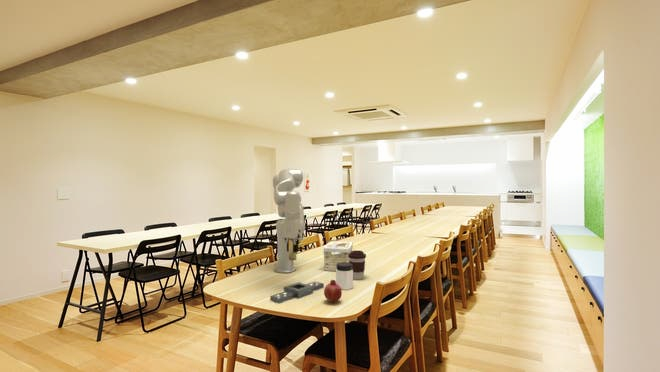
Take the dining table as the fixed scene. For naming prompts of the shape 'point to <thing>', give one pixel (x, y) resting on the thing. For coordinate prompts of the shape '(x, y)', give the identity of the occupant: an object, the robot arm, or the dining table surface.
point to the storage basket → (336, 254)
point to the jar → (344, 275)
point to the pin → (291, 250)
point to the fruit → (332, 291)
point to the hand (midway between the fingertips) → (292, 251)
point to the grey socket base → (296, 291)
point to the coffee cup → (357, 264)
